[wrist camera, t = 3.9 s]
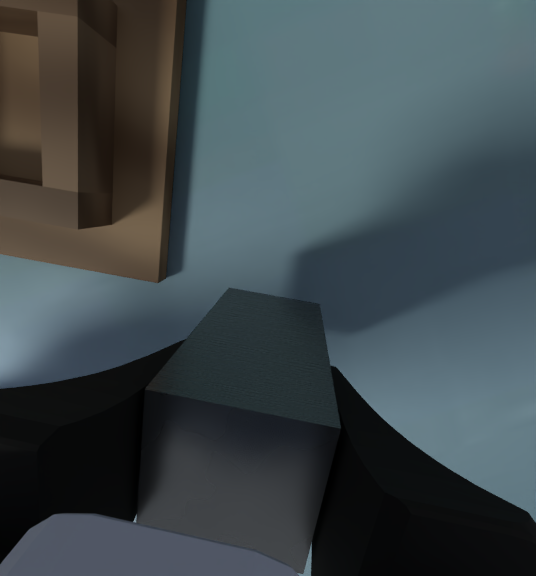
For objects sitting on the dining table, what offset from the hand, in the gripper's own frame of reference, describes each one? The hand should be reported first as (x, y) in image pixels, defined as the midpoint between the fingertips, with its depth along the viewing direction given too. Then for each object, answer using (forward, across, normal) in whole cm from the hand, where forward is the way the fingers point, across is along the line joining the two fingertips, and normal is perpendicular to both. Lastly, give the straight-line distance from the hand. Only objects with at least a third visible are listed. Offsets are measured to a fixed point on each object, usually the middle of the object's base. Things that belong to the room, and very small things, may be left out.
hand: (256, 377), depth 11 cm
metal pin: (+3, 0, 0) cm, 3 cm away
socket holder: (+6, +13, -8) cm, 16 cm away
